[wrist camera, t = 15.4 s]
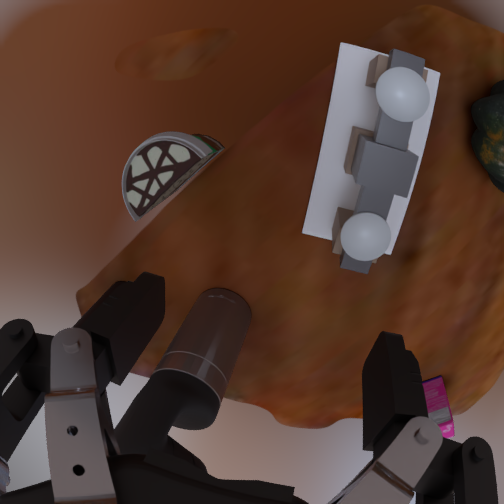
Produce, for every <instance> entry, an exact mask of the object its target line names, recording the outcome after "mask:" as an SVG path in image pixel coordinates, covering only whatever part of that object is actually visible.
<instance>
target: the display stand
mask: <svg viewBox="0 0 504 504" xmlns="http://www.w3.org/2000/svg"><path fill="white" fill-rule="evenodd" d="M388 57H389V55H387V54H384V53H380V52H377V51H373V50H370V49H366V48H362V47H358V46H354V45H350V44H346V43H341V44H340V49H339V55H338V61H337V66H336V72H335V78H334V83H333V89H332V94H331V99H330V104H329V110H328V115H327V120H326V125H325V130H324V135H323V140H322V145H321V149H320V154H319V159H318V164H317V168H316V173H315V178H314V182H313V187H312V191H311V196H310V200H309V204H308V209H307V213H306V217H305V222H304V226H303V231H302V233H304V234H308V235H312V236H317V237H321V238H325V239H329V240H332V253H336V254H340V255H341V253H342V249H343V247H342V244H341V230H342V227H343V225H344V223H345V222H346V221H347V220H348V219H349V218H350V217H351V216H353V212H354V209H355V205H356V201H357V198H358V194H359V190H360V187H361V185H358V184H356V183H355V181H354V178H353V175H352V172H351V165H352V161H353V157H354V153H355V148H356V144H357V139H358V135H359V134H363V135H366V136H370V137H373V134H374V129H375V125H376V120H377V115H378V111H379V104H378V102H377V99H376V94H375V89H376V83H377V81H378V79H379V77H380V76H381V75H382V74H383V73H384V72H385V71H386V69H387V63H388ZM439 77H440V73H439V72H436V71H433V70H431V69H428V68H426V67H424V70H423V76H422V78H423V79H424V81H425V82H426V84H427V87H428V89H429V94H430V102H429V106H428V109H427V111H426V112H425V114H424V115H423V116H422V117H420V118H419V119H417V120H415V121H413V125H412V130H411V134H410V138H409V142H408V146H407V149H408V150H410V151H411V152H413V153H414V154H416V155H417V156H419V158H418V162H417V166H416V169H415V173H414V177H413V180H412V183H411V187H410V190H409V193H408V197H407V198H405V197H401V196H398V195H394V197H393V200H392V204H391V207H390V210H389V213H388V217H387V220H386V222H387V224H388V226H389V228H390V231H391V241H390V244H389V247H388V248H387V250H386V251H385V252H384V253H385V254H389V255H391V252H392V250H393V247H394V244H395V241H396V239H397V236H398V233H399V230H400V227H401V224H402V221H403V218H404V215H405V212H406V209H407V206H408V203H409V200H410V197H411V193H412V190H413V187H414V183H415V180H416V177H417V173H418V170H419V166H420V162H421V159H422V155H423V151H424V147H425V143H426V139H427V135H428V131H429V127H430V122H431V118H432V113H433V108H434V104H435V99H436V93H437V88H438V83H439ZM377 259H378V258H376V259H373V261H372V262H373V263H376V262H377Z"/></svg>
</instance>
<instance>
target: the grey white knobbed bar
mask: <svg viewBox="0 0 504 504" xmlns="http://www.w3.org/2000/svg"><path fill="white" fill-rule="evenodd" d="M424 64H425V59H423V58H420V57H417V56H414V55H412V54H409V53H406V52H403V51H400V50H397V49H393V50H391V51H390V52H389V57H388V63H387V69H386V71H385V72H384V73H383V74H382V75H381V76H380V77H379V79H378V81H377V83H376V89H375V94H376V99H377V102H378V104H379V111H378V115H377V120H376V125H375V129H374V134H373V137H370V136H366V135H363V134H359V135H358V139H357V144H356V148H355V153H354V157H353V161H352V165H351V172H352V175H353V178H354V181H355V183H356V184H358V185H361V187H360V190H359V194H358V198H357V201H356V205H355V209H354V212H353V216H351V217H350V218H349V219H348V220H347V221H346V222H345V223H344V225H343V227H342V230H341V244H342V247H343V249H342V253H341V256H340V268H344V269H348V270H353V271H357V272H361V273H365V274H368V271H369V269H370V266H371V263H372V261H373V259H376V258H378V257H380V256H381V255H382V254H383V253H384V252H385V251H386V250H387V248H388V247H389V244H390V241H391V231H390V228H389V226H388V224H387V222H386V220H387V217H388V213H389V210H390V207H391V204H392V200H393V197H394V195H398V196H401V197H405V198H407V197H408V193H409V190H410V187H411V183H412V180H413V177H414V173H415V169H416V166H417V162H418V158H419V156H417V155H416V154H414V153H413V152H411V151H410V150H408V149H407V146H408V142H409V138H410V134H411V130H412V125H413V121H415V120H417V119H419V118H420V117H422V116H423V115H424V114H425V112H426V111H427V109H428V106H429V102H430V94H429V89H428V87H427V84H426V82H425V81H424V79H423V78H422V76H423V70H424Z"/></svg>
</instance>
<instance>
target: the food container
mask: <svg viewBox="0 0 504 504" xmlns="http://www.w3.org/2000/svg"><path fill="white" fill-rule="evenodd" d="M224 148H225V147H224V146H223V145H222V144H221V143H220V142H218V141H217V140H215V139H213V138H211V137H209V136H206V135H200V134H192V135H189V134H185V133H181V132H164V133H159V134H157V135H154V136H152V137H150V138H149V139H147V140H145V141H144V142H143V143H142V144H141V145H139V146H138V147H137V148H136V149H135V150H134V152H133V153H132V154H131V156H130V157H129V159H128V162H127V164H126V165H125V169H124V171H123V177H122V193H123V198H124V201H125V204H126V207H127V209H128V211H129V213H130V215H131V216H132V218H133V219H134V220H135V221H137V220H139V219H141V218H142V216H144V215H145V214H146V213H148V212H149V211H150V210H151V209H153V208H154V207H155V206H157V205H158V204H159V203H161V202H162V201H164V200H165V199H166V198H168V197H169V196H170V195H172V194H173V193H174V192H176V191H177V190H178V189H179V188H180V187H181V186H183V185H184V184H185V183H186V182H187V181H188V180H189V179H190V178H191V177H192V176H194V175H195V174H196V173H197V172H198V171H199V170H200V169H201V168H203V167H204V166H205V165H206V164H207V163H208V162H209V161H210V160H212V159H213V158H214V157H215V156H216V155H217V154H219V153H220V152H221V151H222V150H223V149H224Z"/></svg>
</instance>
